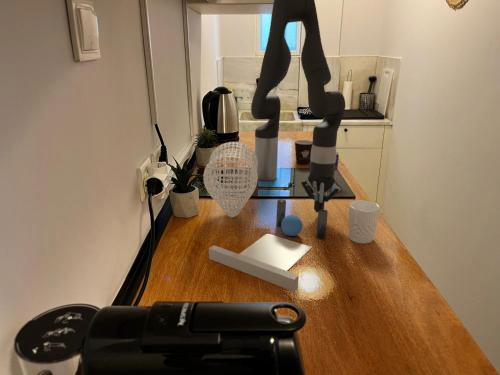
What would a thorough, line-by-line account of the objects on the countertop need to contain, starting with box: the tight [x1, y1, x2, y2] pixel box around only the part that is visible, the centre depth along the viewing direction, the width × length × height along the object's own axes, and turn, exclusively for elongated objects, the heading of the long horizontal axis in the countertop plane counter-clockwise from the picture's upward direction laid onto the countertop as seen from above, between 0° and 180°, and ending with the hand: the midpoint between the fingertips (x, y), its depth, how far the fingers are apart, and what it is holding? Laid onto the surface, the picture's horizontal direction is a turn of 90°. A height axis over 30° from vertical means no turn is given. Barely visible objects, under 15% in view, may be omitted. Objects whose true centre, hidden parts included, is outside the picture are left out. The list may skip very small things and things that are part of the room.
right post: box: [315, 209, 329, 240], centre depth 106 cm, size 3×3×8 cm
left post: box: [275, 198, 287, 229], centre depth 113 cm, size 3×3×8 cm
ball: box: [281, 214, 303, 237], centre depth 107 cm, size 6×6×6 cm
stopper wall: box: [208, 245, 300, 292], centre depth 90 cm, size 24×2×3 cm, turn 56°
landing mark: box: [239, 233, 313, 272], centre depth 100 cm, size 14×14×1 cm
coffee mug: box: [294, 139, 313, 166], centre depth 174 cm, size 12×9×10 cm
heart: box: [202, 141, 258, 218], centre depth 116 cm, size 28×16×22 cm, turn 179°
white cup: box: [347, 199, 381, 245], centre depth 105 cm, size 8×8×10 cm
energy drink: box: [334, 151, 340, 184], centre depth 150 cm, size 5×5×12 cm
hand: (318, 211), depth 120 cm, fingers closed
